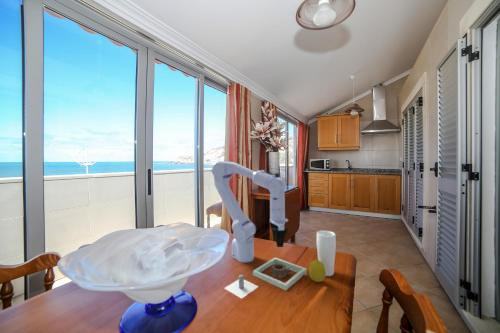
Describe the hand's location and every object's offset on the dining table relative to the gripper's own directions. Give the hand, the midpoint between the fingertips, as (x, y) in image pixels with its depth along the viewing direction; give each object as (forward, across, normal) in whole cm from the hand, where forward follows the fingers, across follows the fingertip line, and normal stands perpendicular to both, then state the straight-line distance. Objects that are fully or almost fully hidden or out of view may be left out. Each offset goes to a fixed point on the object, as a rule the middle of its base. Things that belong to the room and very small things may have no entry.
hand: (278, 242), depth 83 cm
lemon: (+10, -11, -11) cm, 19 cm away
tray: (+10, -6, +1) cm, 12 cm away
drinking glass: (+10, -6, -17) cm, 21 cm away
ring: (+9, -6, +1) cm, 11 cm away
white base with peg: (+10, -13, +15) cm, 22 cm away
